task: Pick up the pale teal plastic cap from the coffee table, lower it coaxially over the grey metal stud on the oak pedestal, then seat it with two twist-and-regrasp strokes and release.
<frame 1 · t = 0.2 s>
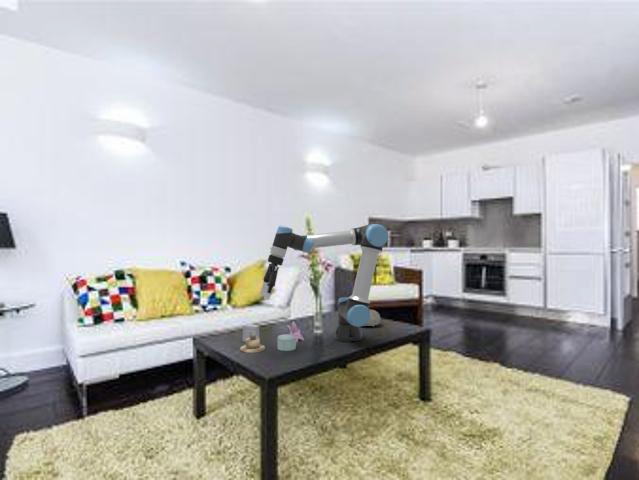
hand: (264, 297, 184), 27 cm above the table, tool tilted 15°, fingers open, 13 cm apart
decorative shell: (366, 325, 239), on the table
cap: (286, 348, 188), on the table
medicine box: (250, 341, 200), on the table
lily: (294, 341, 201), on the table
stud pedestal: (252, 349, 186), on the table
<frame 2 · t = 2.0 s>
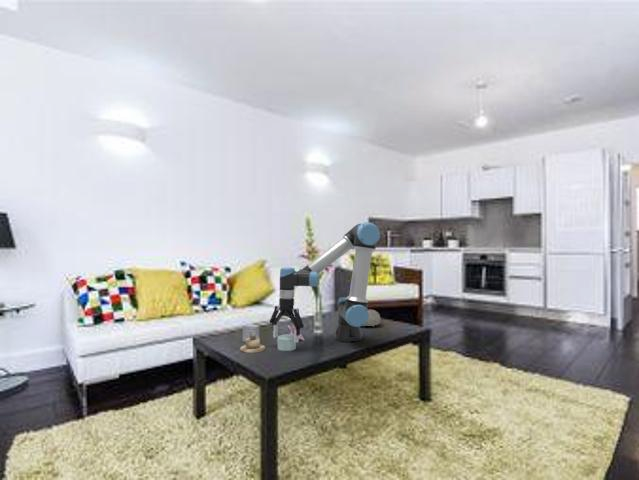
hand: (285, 339, 188), 4 cm above the table, tool pointing down, fingers open, 13 cm apart
nothing on the table moved.
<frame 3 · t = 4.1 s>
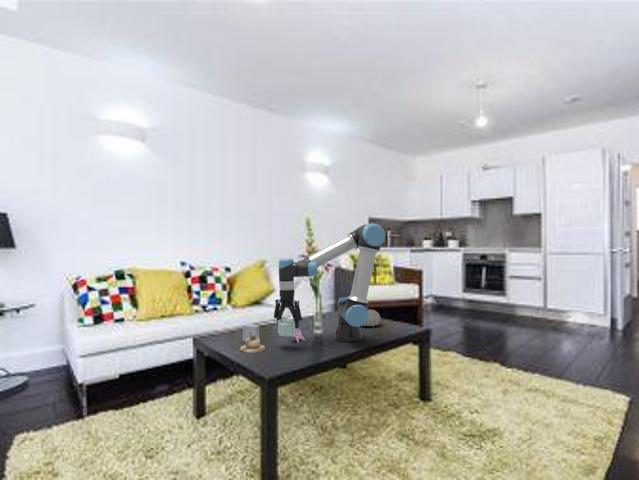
hand: (288, 333, 188), 8 cm above the table, tool pointing down, fingers closed on cap, 9 cm apart
cap: (288, 333, 188), point 7 cm above the table, touching gripper
everything else where it was.
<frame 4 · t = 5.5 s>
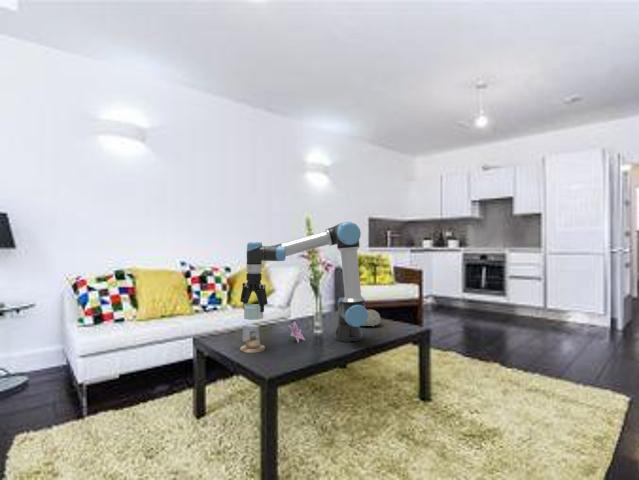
hand: (253, 317, 186), 16 cm above the table, tool pointing down, fingers closed on cap, 9 cm apart
cap: (253, 317, 186), point 16 cm above the table, touching gripper
everything else where it was.
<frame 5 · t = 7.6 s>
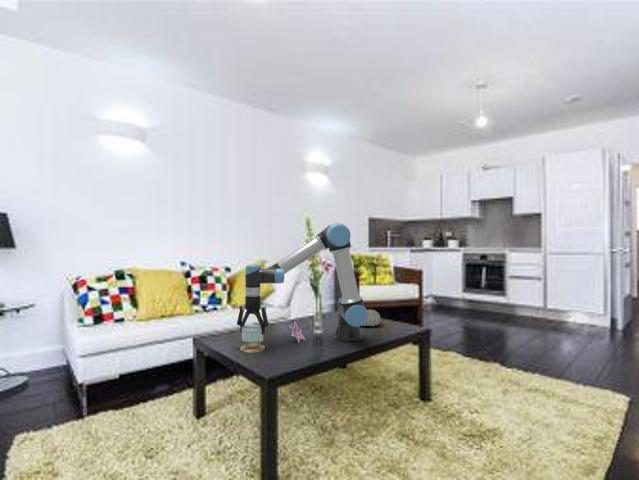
hand: (252, 340, 186), 5 cm above the table, tool pointing down, fingers closed on cap, 9 cm apart
cap: (252, 339, 186), point 5 cm above the table, touching gripper
everything else where it was.
when the fingers open (5 cm above the table, at t = 8.3 s): cap stays where it is, resting on stud pedestal.
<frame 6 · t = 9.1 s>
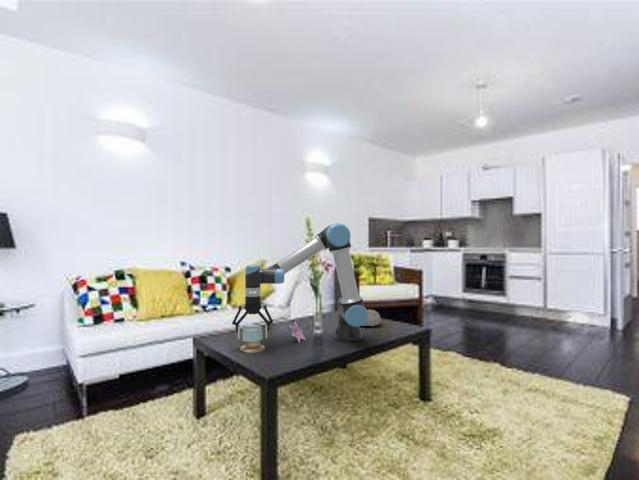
hand: (252, 337, 186), 6 cm above the table, tool pointing down, fingers open, 13 cm apart
cap: (252, 339, 186), point 5 cm above the table, touching stud pedestal
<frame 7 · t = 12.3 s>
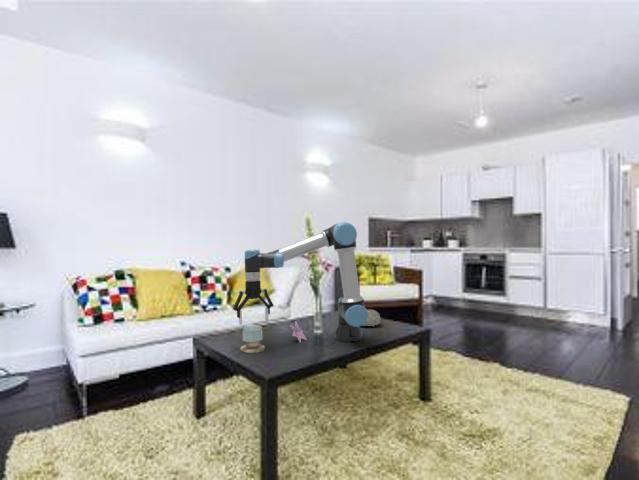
hand: (253, 322, 186), 13 cm above the table, tool pointing down, fingers open, 13 cm apart
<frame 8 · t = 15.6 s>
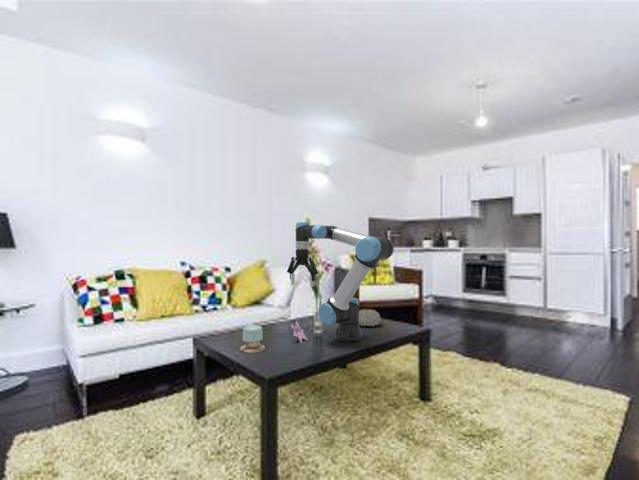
hand: (302, 285, 212), 29 cm above the table, tool pointing down, fingers open, 13 cm apart
at the end: cap 0.0 cm off-centre on the stud pedestal, point 5.0 cm above the stud pedestal's base; cap tilted 0°; the gripper is holding nothing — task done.
